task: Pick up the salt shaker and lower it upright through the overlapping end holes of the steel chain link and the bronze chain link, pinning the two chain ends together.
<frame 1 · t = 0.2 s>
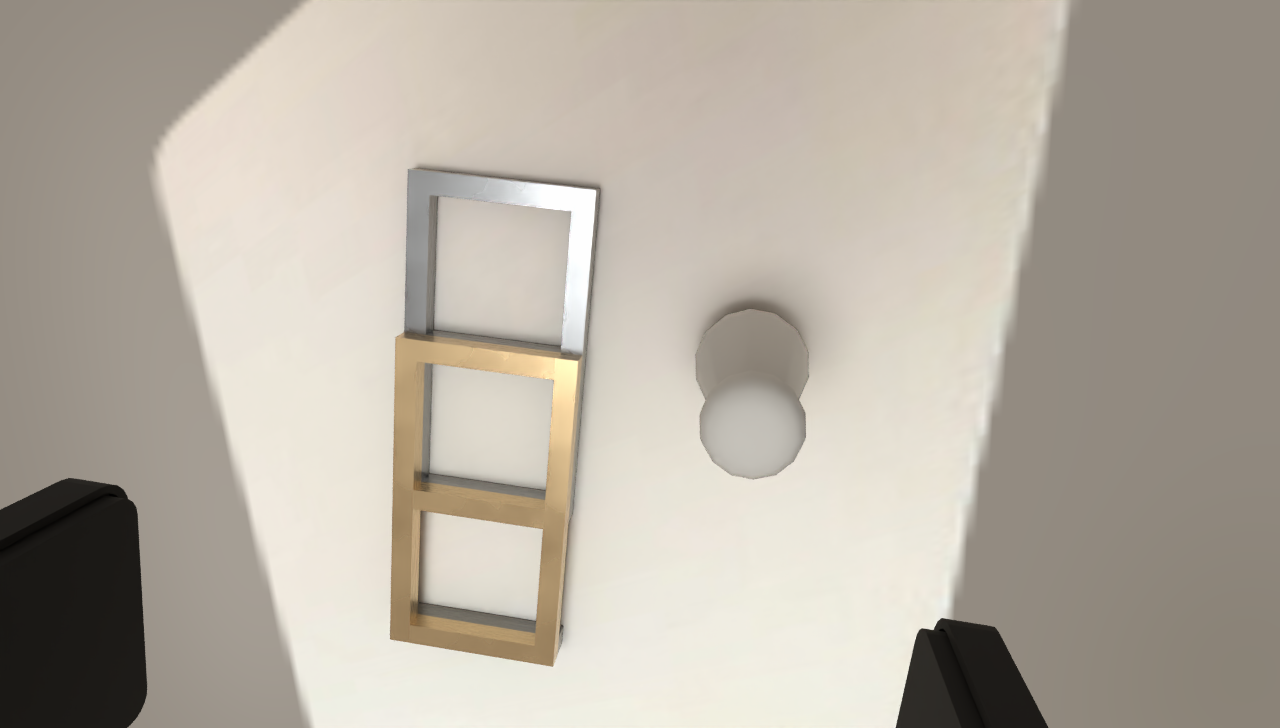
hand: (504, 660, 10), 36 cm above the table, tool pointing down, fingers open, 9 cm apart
steel chain link: (494, 422, 48), on the table
salt shaker: (751, 352, 45), on the table
bronze chain link: (494, 422, 48), on the table
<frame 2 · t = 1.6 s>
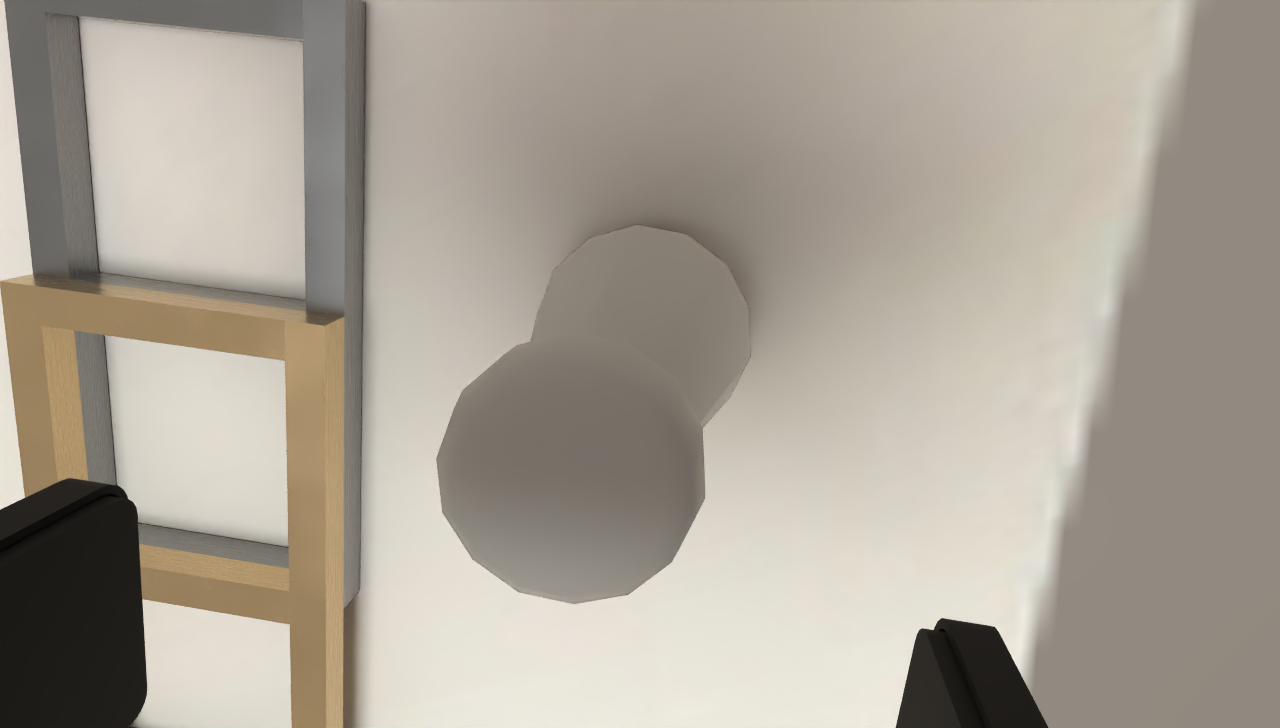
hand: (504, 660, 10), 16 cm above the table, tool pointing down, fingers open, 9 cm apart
steel chain link: (216, 434, 28), on the table
salt shaker: (653, 313, 25), on the table
bronze chain link: (216, 434, 28), on the table
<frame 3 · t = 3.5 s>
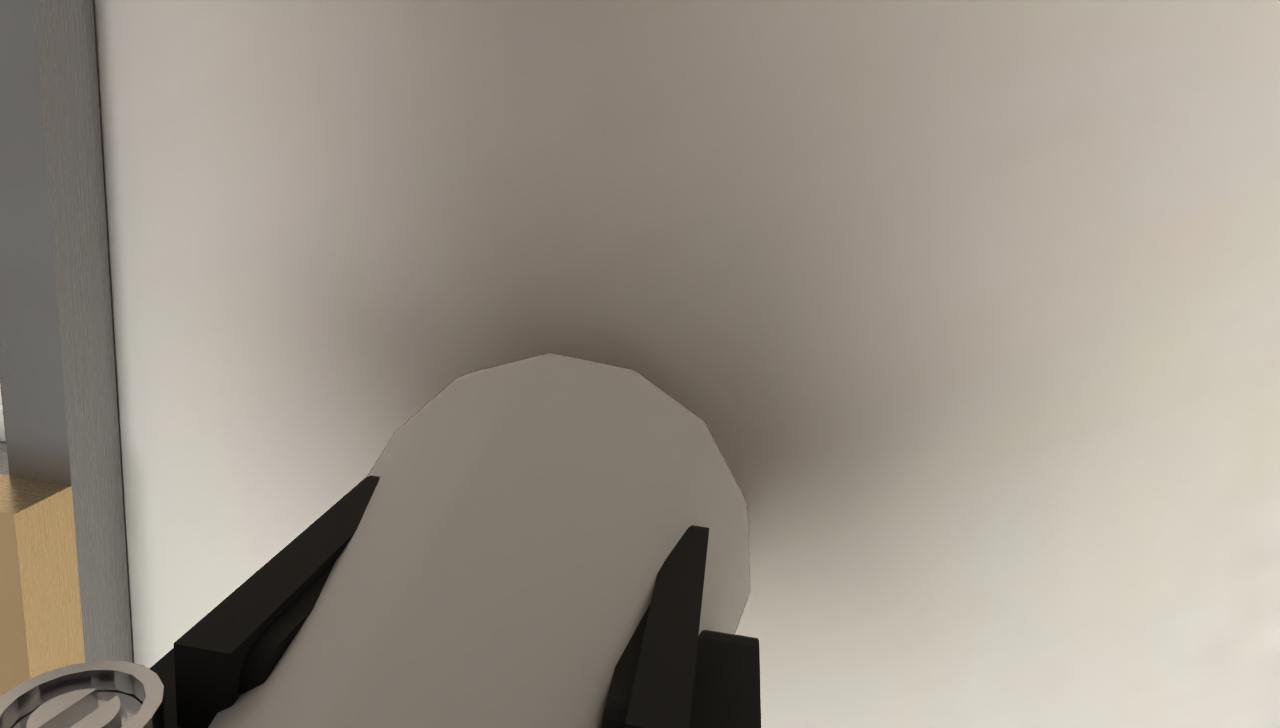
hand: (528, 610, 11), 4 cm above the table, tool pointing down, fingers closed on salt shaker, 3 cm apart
salt shaker: (588, 478, 15), on the table, touching gripper
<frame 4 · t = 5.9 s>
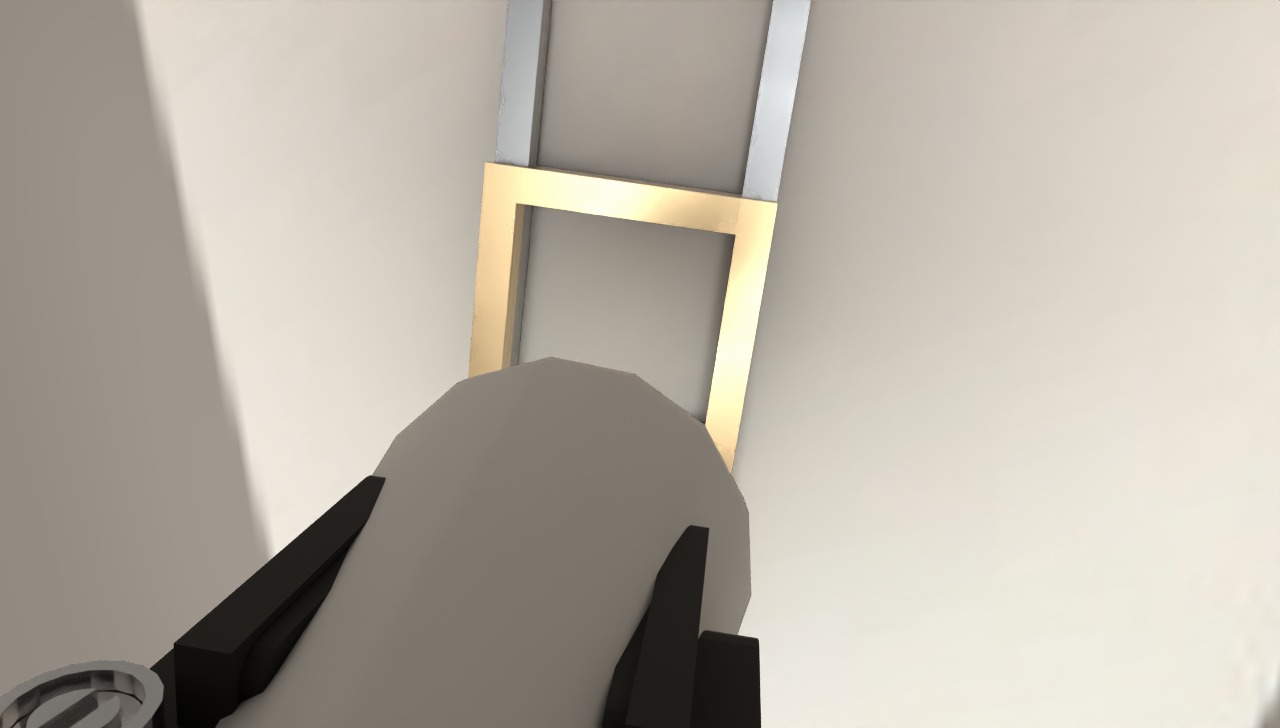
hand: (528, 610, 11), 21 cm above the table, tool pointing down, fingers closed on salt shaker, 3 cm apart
steel chain link: (621, 313, 32), on the table
salt shaker: (589, 482, 15), point 17 cm above the table, touching gripper
bronze chain link: (621, 313, 32), on the table
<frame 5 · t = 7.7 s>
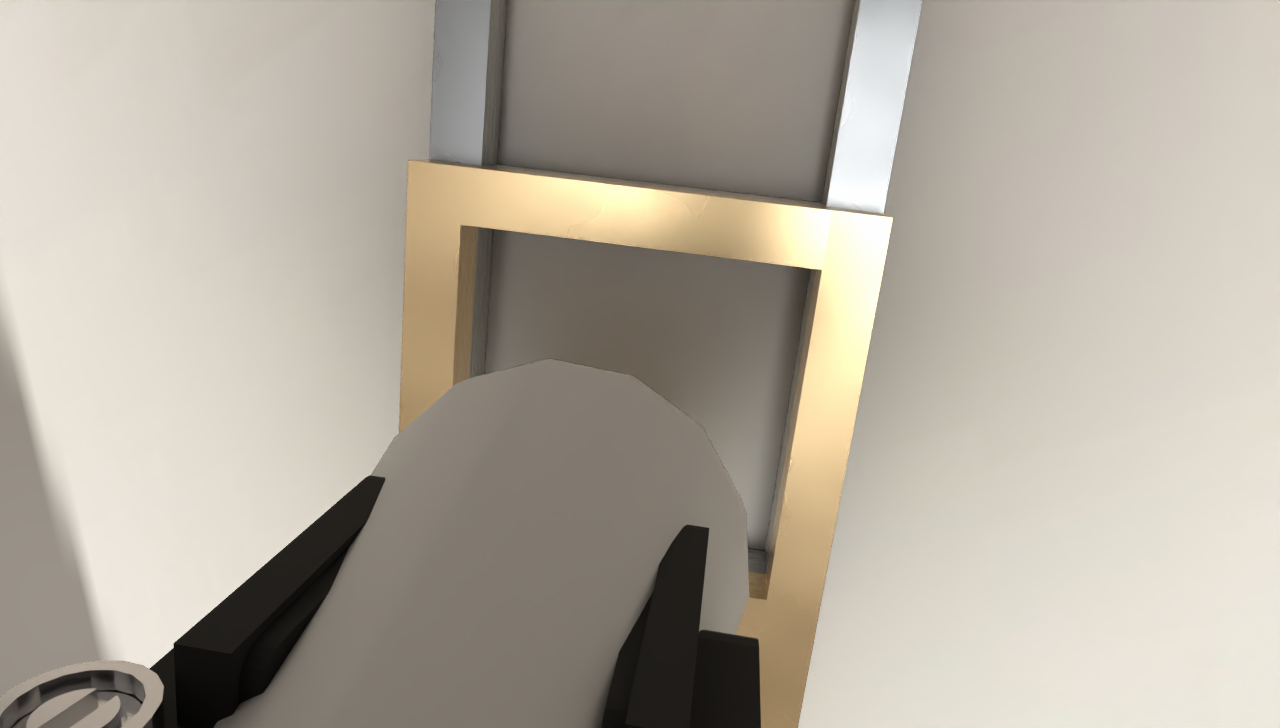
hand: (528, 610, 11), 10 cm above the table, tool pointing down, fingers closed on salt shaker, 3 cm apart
steel chain link: (633, 388, 21), on the table
salt shaker: (588, 483, 15), point 6 cm above the table, touching gripper
bronze chain link: (633, 388, 21), on the table
when the fingers open (6 cm above the table, at t = 8.8 s): salt shaker drops 1 cm, resting in bronze chain link.
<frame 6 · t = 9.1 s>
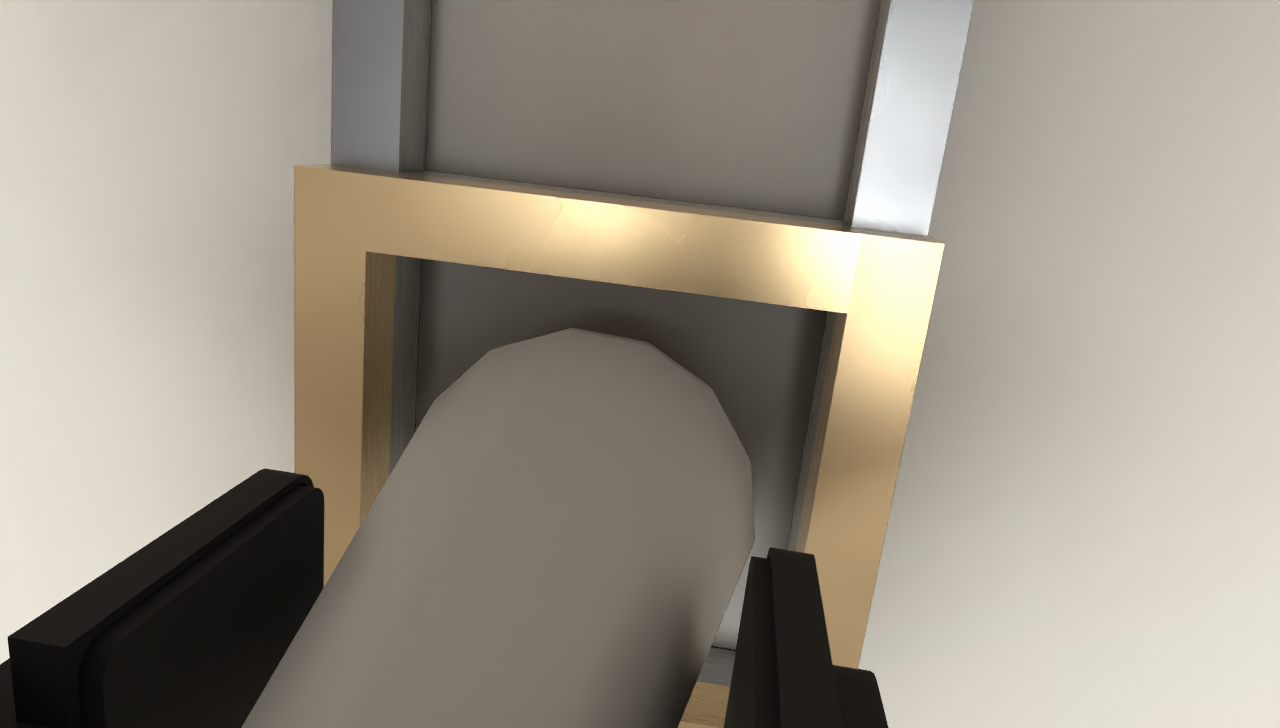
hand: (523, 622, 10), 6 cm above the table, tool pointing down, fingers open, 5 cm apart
steel chain link: (602, 454, 16), on the table
salt shaker: (606, 447, 16), resting in bronze chain link
bronze chain link: (602, 454, 16), on the table
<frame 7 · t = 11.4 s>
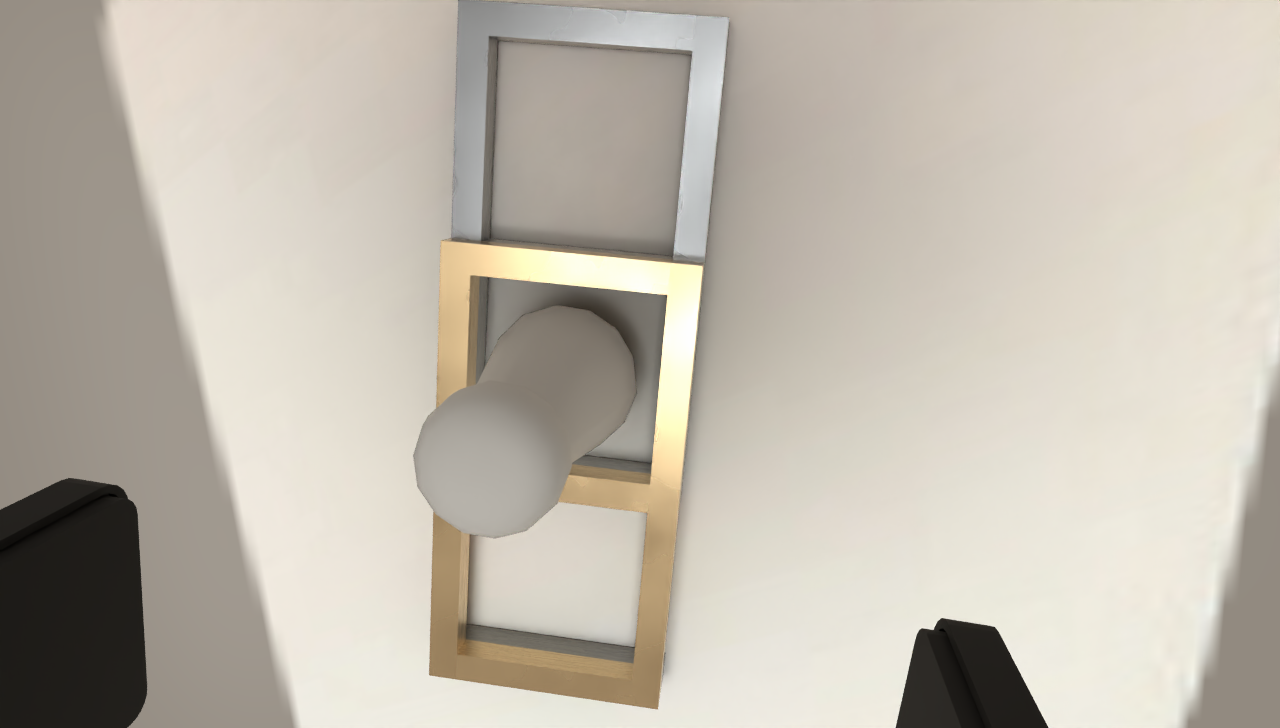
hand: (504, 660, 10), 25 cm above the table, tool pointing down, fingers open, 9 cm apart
steel chain link: (573, 367, 35), on the table
salt shaker: (575, 364, 35), resting in bronze chain link
bronze chain link: (573, 367, 35), on the table
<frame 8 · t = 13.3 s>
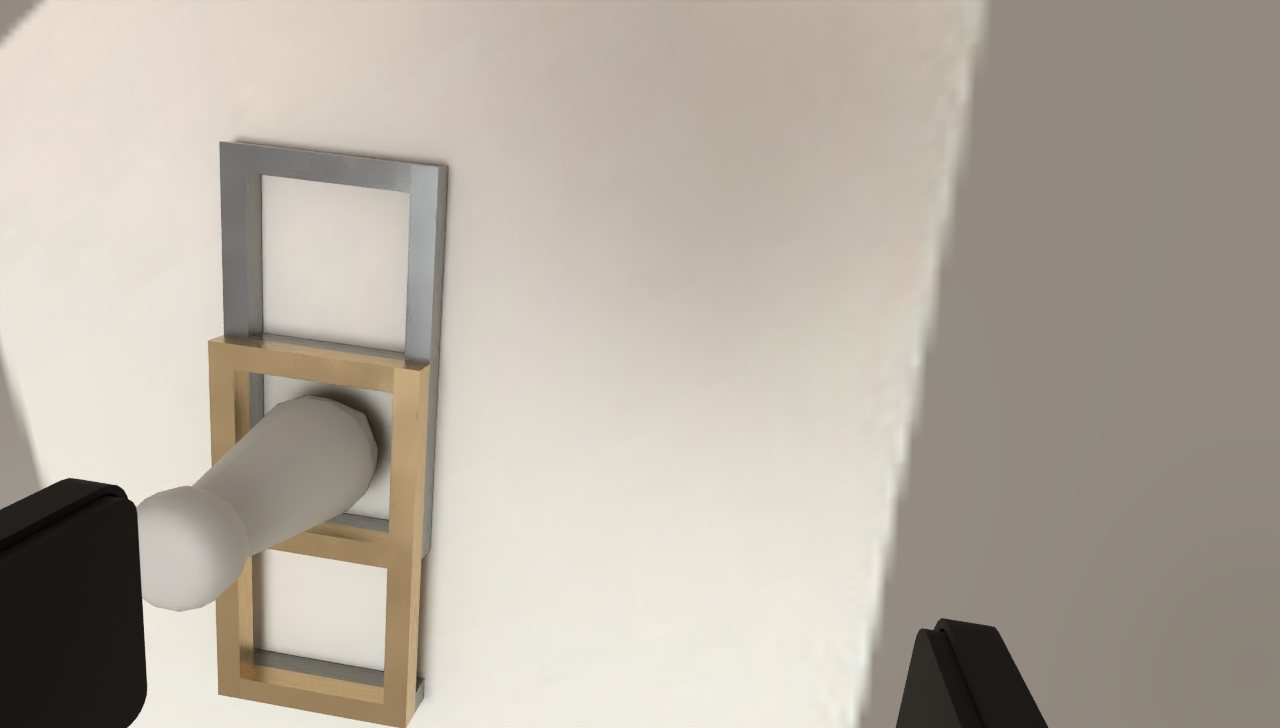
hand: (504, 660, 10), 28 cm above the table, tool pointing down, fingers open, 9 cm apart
steel chain link: (336, 441, 41), on the table
salt shaker: (339, 438, 41), resting in bronze chain link
bronze chain link: (336, 441, 41), on the table
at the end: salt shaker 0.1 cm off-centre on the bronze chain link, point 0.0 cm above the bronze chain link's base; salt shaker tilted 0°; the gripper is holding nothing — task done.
